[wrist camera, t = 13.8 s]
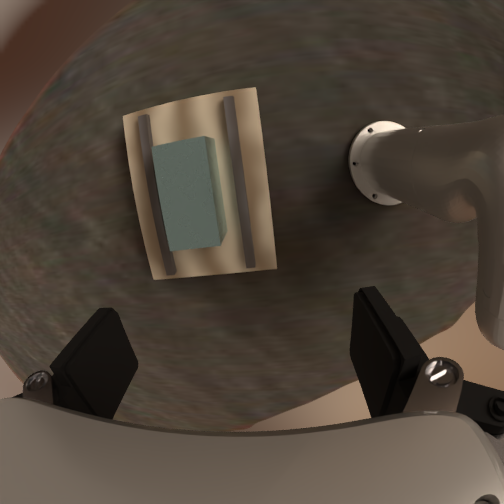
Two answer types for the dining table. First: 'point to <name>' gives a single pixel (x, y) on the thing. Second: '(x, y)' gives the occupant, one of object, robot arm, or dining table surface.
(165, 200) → the housing
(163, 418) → the dining table surface
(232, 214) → the stand
